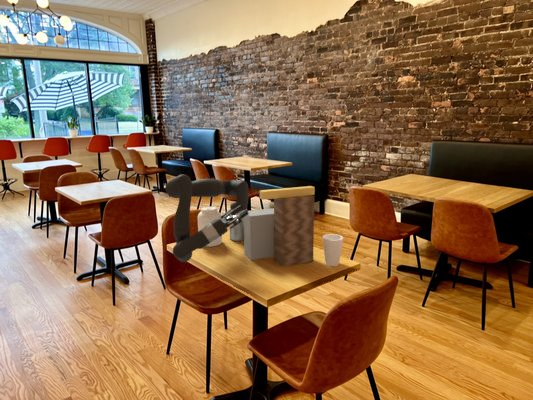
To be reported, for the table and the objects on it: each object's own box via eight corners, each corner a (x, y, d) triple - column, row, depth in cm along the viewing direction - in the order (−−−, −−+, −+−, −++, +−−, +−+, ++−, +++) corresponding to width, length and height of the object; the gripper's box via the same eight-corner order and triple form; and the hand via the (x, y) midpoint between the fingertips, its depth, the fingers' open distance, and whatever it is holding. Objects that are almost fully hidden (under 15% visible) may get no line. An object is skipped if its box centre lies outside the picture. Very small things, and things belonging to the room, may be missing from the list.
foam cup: (318, 261, 190) (319, 235, 187) (334, 258, 194) (335, 233, 191) (329, 268, 181) (329, 241, 178) (346, 265, 185) (347, 238, 182)
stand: (282, 266, 184) (282, 199, 177) (274, 259, 193) (273, 194, 186) (313, 261, 190) (314, 196, 182) (303, 254, 199) (304, 192, 192)
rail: (262, 199, 177) (262, 191, 176) (259, 198, 180) (259, 190, 179) (314, 194, 186) (314, 187, 185) (311, 193, 189) (311, 186, 188)
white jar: (212, 248, 209) (211, 211, 204) (194, 244, 215) (192, 208, 210) (226, 241, 219) (225, 206, 215) (208, 238, 225) (207, 203, 221)
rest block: (250, 260, 192) (249, 216, 187) (244, 253, 202) (243, 211, 197) (281, 255, 198) (281, 212, 193) (273, 249, 207) (273, 208, 202)
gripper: (213, 228, 166) (245, 206, 169) (206, 219, 179) (235, 199, 182) (222, 241, 169) (253, 219, 172) (215, 232, 182) (244, 211, 185)
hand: (244, 209), depth 177 cm, fingers open, 8 cm apart
